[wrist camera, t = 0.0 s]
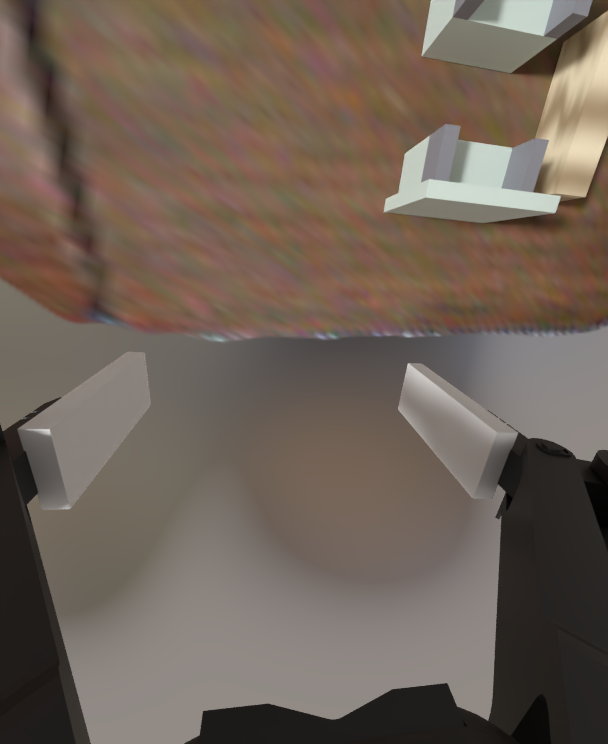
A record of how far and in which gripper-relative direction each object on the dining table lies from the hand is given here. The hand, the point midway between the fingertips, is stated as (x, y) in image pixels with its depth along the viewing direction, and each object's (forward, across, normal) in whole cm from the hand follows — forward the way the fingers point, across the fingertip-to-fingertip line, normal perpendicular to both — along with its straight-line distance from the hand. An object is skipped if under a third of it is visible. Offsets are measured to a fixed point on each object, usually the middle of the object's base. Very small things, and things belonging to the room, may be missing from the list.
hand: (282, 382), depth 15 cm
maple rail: (+28, +34, +23) cm, 50 cm away
